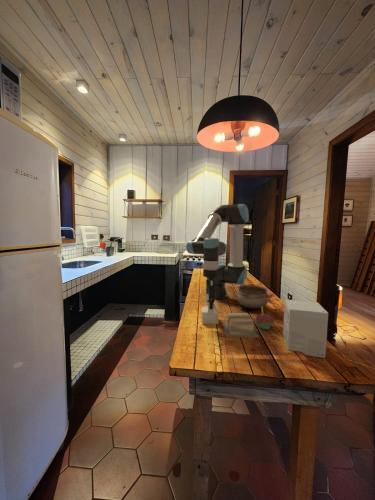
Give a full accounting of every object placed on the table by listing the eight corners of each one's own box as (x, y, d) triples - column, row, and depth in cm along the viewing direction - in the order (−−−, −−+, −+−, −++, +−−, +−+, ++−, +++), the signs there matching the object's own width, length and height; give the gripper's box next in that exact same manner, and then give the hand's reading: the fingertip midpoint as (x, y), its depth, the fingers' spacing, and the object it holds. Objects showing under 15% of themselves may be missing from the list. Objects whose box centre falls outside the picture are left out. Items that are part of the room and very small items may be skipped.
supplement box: (315, 341, 93) (318, 301, 92) (326, 358, 81) (329, 313, 79) (282, 337, 97) (284, 298, 95) (287, 352, 84) (289, 309, 83)
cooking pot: (268, 303, 142) (269, 285, 141) (277, 314, 123) (278, 293, 122) (229, 301, 144) (230, 283, 143) (232, 312, 125) (233, 291, 124)
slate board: (222, 325, 108) (222, 322, 108) (250, 325, 108) (250, 323, 108) (226, 339, 94) (226, 336, 94) (259, 339, 94) (259, 337, 94)
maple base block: (226, 324, 106) (227, 312, 105) (247, 325, 106) (247, 313, 105) (230, 334, 96) (231, 321, 95) (253, 334, 96) (253, 321, 95)
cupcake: (261, 333, 99) (263, 308, 98) (251, 326, 108) (252, 302, 107) (277, 331, 102) (279, 306, 101) (266, 324, 110) (267, 301, 109)
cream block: (201, 319, 115) (201, 306, 114) (216, 319, 115) (216, 307, 114) (202, 326, 107) (202, 312, 107) (218, 326, 107) (218, 312, 106)
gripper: (201, 265, 121) (200, 302, 123) (204, 273, 96) (203, 319, 98) (215, 265, 121) (214, 302, 122) (221, 273, 96) (220, 320, 98)
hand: (209, 310), depth 110 cm, fingers open, 13 cm apart
